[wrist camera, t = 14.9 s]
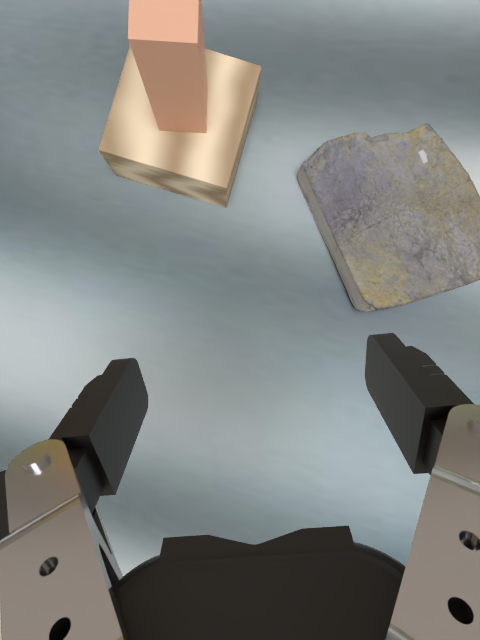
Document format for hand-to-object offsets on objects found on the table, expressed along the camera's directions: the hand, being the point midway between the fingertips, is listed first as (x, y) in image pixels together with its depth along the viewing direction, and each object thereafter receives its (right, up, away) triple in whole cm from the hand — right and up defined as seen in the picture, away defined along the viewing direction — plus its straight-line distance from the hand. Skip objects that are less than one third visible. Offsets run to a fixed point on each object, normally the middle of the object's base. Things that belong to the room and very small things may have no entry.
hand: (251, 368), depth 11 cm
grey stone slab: (+19, +15, +31) cm, 39 cm away
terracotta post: (-6, +24, +23) cm, 34 cm away
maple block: (-7, +24, +29) cm, 39 cm away
